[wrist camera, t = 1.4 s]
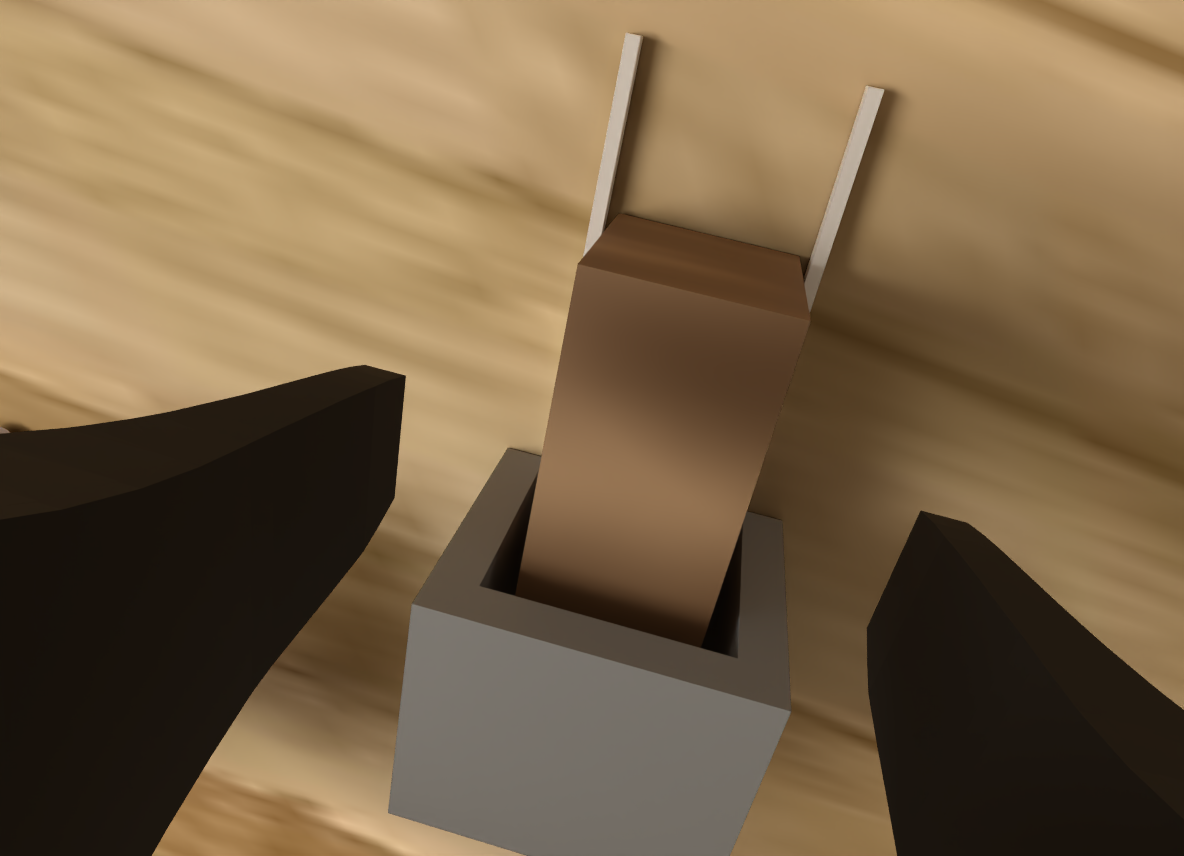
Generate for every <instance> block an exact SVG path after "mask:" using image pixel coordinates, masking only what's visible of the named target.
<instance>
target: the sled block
mask: <svg viewBox="0 0 1184 856" xmlns="http://www.w3.org/2000/svg"><path fill="white" fill-rule="evenodd" d="M810 322H811V319H810V313H809V308H808V302H807V297H806V291H805V286H804V280H803V274H802V269H801V263H800V258H799V256H796V255H792V254H788V253H784V252H780V251H775V250H771V249H767V248H763V247H759V246H754V245H750V244H746V243H742V242H738V241H733V240H729V239H725V238H721V237H717V236H713V235H708V234H704V233H700V232H696V231H692V230H687V229H683V228H679V227H675V226H671V225H667V224H662V223H658V222H654V221H650V220H646V219H641V218H637V217H633V216H629V215H625V214H620V213H619V214H618V215H617V216H616V217H615V219H614V220H613V221H612V222H611V224H610V225H609V226H608V227H607V228H606V230H605V231H604V232H603V233H602V235H601V236H600V237H599V238H598V240H597V241H596V242H595V243H594V245H593V246H592V247H591V248H590V250H589V251H588V252H587V253H586V254H585V256H584V257H583V258H582V259H581V261H580V262H579V263H578V266H577V271H576V276H575V282H574V287H573V292H572V298H571V303H570V308H569V313H568V319H567V324H566V329H565V335H564V340H563V345H562V350H561V356H560V361H559V366H558V372H557V377H556V382H555V388H554V393H553V398H552V403H551V409H550V414H549V419H548V425H547V430H546V435H545V441H544V446H543V451H542V456H541V462H540V467H539V472H538V478H537V483H536V488H535V493H534V499H533V504H532V509H531V515H530V520H529V525H528V531H527V536H526V541H525V546H524V552H523V557H522V562H521V568H520V573H519V578H518V583H517V589H516V594H515V596H517V597H520V598H524V599H527V600H531V601H535V602H538V603H542V604H545V605H549V606H552V607H556V608H560V609H563V610H567V611H570V612H574V613H577V614H581V615H585V616H588V617H592V618H595V619H599V620H602V621H606V622H609V623H613V624H617V625H620V626H624V627H627V628H631V629H634V630H638V631H642V632H645V633H649V634H652V635H656V636H659V637H663V638H667V639H670V640H674V641H677V642H681V643H684V644H688V645H692V646H695V647H699V648H701V646H702V643H703V640H704V637H705V634H706V631H707V628H708V625H709V622H710V619H711V616H712V613H713V610H714V607H715V604H716V601H717V598H718V595H719V592H720V589H721V586H722V583H723V580H724V577H725V574H726V571H727V568H728V565H729V563H730V560H731V557H732V554H733V551H734V548H735V545H736V542H737V539H738V536H739V533H740V530H741V527H742V524H743V521H744V518H745V515H746V512H747V509H748V506H749V503H750V500H751V497H752V494H753V491H754V488H755V485H756V482H757V479H758V477H759V474H760V471H761V468H762V465H763V462H764V459H765V456H766V453H767V450H768V447H769V444H770V441H771V438H772V435H773V432H774V429H775V426H776V423H777V420H778V417H779V414H780V411H781V408H782V405H783V402H784V399H785V396H786V393H787V391H788V388H789V385H790V382H791V379H792V376H793V373H794V370H795V367H796V364H797V361H798V358H799V355H800V352H801V349H802V346H803V343H804V340H805V337H806V334H807V331H808V328H809V325H810Z"/></svg>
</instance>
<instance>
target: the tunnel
mask: <svg viewBox="0 0 1184 856" xmlns="http://www.w3.org/2000/svg"><path fill="white" fill-rule="evenodd" d="M642 41H643V36H640V35H636V34H631V33H626V35H625V41H624V46H623V51H622V56H621V62H620V67H619V72H618V77H617V82H616V88H615V93H614V98H613V103H612V109H611V114H610V119H609V124H608V130H607V135H606V140H605V145H604V150H603V156H602V161H601V166H600V171H599V177H598V182H597V187H596V192H595V198H594V203H593V208H592V213H591V218H590V224H589V229H588V234H587V239H586V245H585V250H584V255H583V257H584V256H585V254H586V253H587V252H588V251H589V250H590V248H591V247H592V246H593V245H594V243H595V242H596V241H597V240H598V238H599V237H600V236H601V235H602V233H603V232H604V230H605V225H606V220H607V215H608V210H609V205H610V200H611V195H612V190H613V185H614V180H615V175H616V170H617V165H618V160H619V156H620V151H621V146H622V141H623V136H624V131H625V126H626V121H627V116H628V111H629V106H630V101H631V96H632V91H633V86H634V81H635V76H636V71H637V66H638V61H639V56H640V51H641V46H642ZM883 93H884V89H881V88H876V87H872V86H867V85H866V88H865V91H864V94H863V98H862V101H861V104H860V107H859V110H858V113H857V116H856V119H855V122H854V125H853V128H852V131H851V135H850V138H849V141H848V144H847V147H846V150H845V153H844V156H843V159H842V162H841V165H840V168H839V172H838V175H837V178H836V181H835V184H834V187H833V190H832V193H831V196H830V199H829V202H828V205H827V209H826V212H825V215H824V218H823V221H822V224H821V227H820V230H819V233H818V236H817V239H816V242H815V246H814V249H813V252H812V255H811V258H810V261H809V264H808V267H807V270H806V273H805V276H804V279H803V280H804V286H805V291H806V297H807V302H808V308H809V313H810V311H811V308H812V305H813V302H814V299H815V296H816V293H817V290H818V287H819V284H820V281H821V278H822V275H823V272H824V269H825V266H826V263H827V260H828V257H829V254H830V251H831V248H832V245H833V242H834V239H835V236H836V233H837V230H838V227H839V224H840V221H841V218H842V215H843V212H844V209H845V206H846V203H847V200H848V197H849V194H850V191H851V188H852V185H853V182H854V179H855V176H856V173H857V170H858V167H859V164H860V161H861V158H862V156H863V153H864V150H865V147H866V144H867V141H868V138H869V135H870V132H871V129H872V126H873V123H874V120H875V117H876V114H877V111H878V108H879V105H880V102H881V99H882V96H883ZM540 462H541V456H537V455H533V454H529V453H525V452H522V451H518V450H514V449H510V448H507V450H506V452H505V453H504V455H503V457H502V458H501V460H500V461H499V463H498V465H497V466H496V468H495V470H494V471H493V473H492V474H491V476H490V478H489V479H488V481H487V483H486V484H485V486H484V487H483V489H482V491H481V492H480V494H479V496H478V497H477V499H476V500H475V502H474V504H473V505H472V507H471V509H470V510H469V512H468V513H467V515H466V517H465V518H464V520H463V522H462V523H461V525H460V526H459V528H458V530H457V531H456V533H455V535H454V536H453V538H452V539H451V541H450V543H449V544H448V546H447V547H446V549H445V551H444V552H443V554H442V556H441V557H440V559H439V560H438V562H437V564H436V565H435V567H434V569H433V570H432V572H431V573H430V575H429V577H428V578H427V580H426V582H425V583H424V585H423V586H422V588H421V590H420V591H419V593H418V595H417V596H416V598H415V599H414V601H413V603H412V607H411V616H410V624H409V633H408V642H407V651H406V659H405V668H404V677H403V686H402V695H401V703H400V712H399V721H398V730H397V738H396V747H395V756H394V765H393V773H392V782H391V791H390V800H389V808H388V813H390V814H393V815H396V816H399V817H403V818H406V819H409V820H412V821H416V822H419V823H422V824H425V825H429V826H432V827H435V828H438V829H442V830H445V831H448V832H452V833H455V834H458V835H461V836H465V837H468V838H471V839H474V840H478V841H481V842H484V843H487V844H491V845H494V846H497V847H500V848H504V849H507V850H510V851H514V852H517V853H520V854H523V855H527V856H730V854H731V852H732V849H733V847H734V845H735V842H736V840H737V838H738V835H739V833H740V831H741V828H742V826H743V824H744V821H745V819H746V817H747V814H748V812H749V809H750V807H751V805H752V802H753V800H754V798H755V795H756V793H757V791H758V788H759V786H760V784H761V781H762V779H763V777H764V774H765V772H766V770H767V767H768V765H769V763H770V760H771V758H772V756H773V753H774V751H775V749H776V746H777V744H778V742H779V739H780V737H781V734H782V732H783V730H784V727H785V725H786V723H787V720H788V718H789V716H790V713H791V695H790V674H789V652H788V631H787V609H786V588H785V566H784V545H783V523H782V520H778V519H774V518H770V517H767V516H763V515H759V514H755V513H751V512H748V511H747V512H746V515H745V518H744V521H743V524H742V527H741V530H740V533H739V536H738V539H737V542H736V545H735V548H734V551H733V554H732V557H731V560H730V563H729V565H728V568H727V571H726V574H725V577H724V580H723V583H722V586H721V589H720V592H719V595H718V598H717V601H716V604H715V607H714V610H713V613H712V616H711V619H710V622H709V625H708V628H707V631H706V634H705V637H704V640H703V643H702V646H701V648H699V647H695V646H692V645H688V644H684V643H681V642H677V641H674V640H670V639H667V638H663V637H659V636H656V635H652V634H649V633H645V632H642V631H638V630H634V629H631V628H627V627H624V626H620V625H617V624H613V623H609V622H606V621H602V620H599V619H595V618H592V617H588V616H585V615H581V614H577V613H574V612H570V611H567V610H563V609H560V608H556V607H552V606H549V605H545V604H542V603H538V602H535V601H531V600H527V599H524V598H520V597H517V596H515V594H516V589H517V583H518V578H519V573H520V568H521V562H522V557H523V552H524V546H525V541H526V536H527V531H528V525H529V520H530V515H531V509H532V504H533V499H534V493H535V488H536V483H537V478H538V472H539V467H540Z"/></svg>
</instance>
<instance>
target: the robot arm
mask: <svg viewBox="0 0 1184 856" xmlns="http://www.w3.org/2000/svg"><path fill="white" fill-rule="evenodd" d="M405 379H406V376H405V375H401V374H397V373H393V372H390V371H386V370H382V369H378V368H374V367H371V366H367V365H361V366H353V367H348V368H343V369H339V370H334V371H330V372H326V373H322V374H319V375H315V376H311V377H307V378H304V379H300V380H296V381H293V382H289V383H285V384H281V385H278V386H274V387H270V388H267V389H263V390H259V391H256V392H252V393H248V394H244V395H240V396H236V397H232V398H227V399H223V400H219V401H214V402H210V403H206V404H201V405H197V406H193V407H188V408H184V409H180V410H176V411H171V412H166V413H161V414H156V415H150V416H145V417H139V418H133V419H127V420H120V421H114V422H107V423H100V424H93V425H86V426H78V427H70V428H60V429H48V430H36V431H24V432H12V433H10V432H9V431H8V430H7V429H4V428H2V427H0V856H152V854H153V852H154V851H155V849H156V847H157V845H158V844H159V842H160V840H161V838H162V837H163V835H164V833H165V831H166V830H167V828H168V826H169V825H170V823H171V821H172V820H173V818H174V816H175V815H176V813H177V811H178V810H179V808H180V807H181V805H182V803H183V802H184V800H185V798H186V797H187V795H188V793H189V792H190V790H191V788H192V787H193V785H194V784H195V782H196V780H197V779H198V777H199V775H200V774H201V772H202V770H203V769H204V767H205V765H206V764H207V762H208V761H209V759H210V757H211V756H212V754H213V752H214V751H215V749H216V748H217V746H218V745H219V743H220V742H221V740H222V738H223V737H224V735H225V734H226V732H227V731H228V729H229V728H230V726H231V724H232V723H233V721H234V720H235V718H236V717H237V715H238V714H239V712H240V710H241V709H242V707H243V706H244V704H245V703H246V701H247V699H248V698H249V696H250V695H251V693H252V692H253V691H254V689H255V688H256V686H257V685H258V684H259V682H260V681H261V680H262V678H263V677H264V676H265V674H266V673H267V672H268V670H269V669H270V667H271V666H272V665H273V664H274V662H275V661H276V660H277V659H278V657H279V656H280V655H281V654H282V652H283V651H284V650H285V649H286V647H287V646H288V645H289V644H290V643H291V641H292V640H293V639H294V638H295V636H296V635H297V634H298V633H299V631H300V630H301V629H302V628H303V626H304V625H305V624H306V623H307V622H308V620H309V619H310V618H311V617H312V615H313V614H314V613H315V612H316V610H317V609H318V608H319V607H320V605H321V604H322V603H323V602H324V601H325V599H326V598H327V597H328V596H329V594H330V593H331V592H332V591H333V589H334V588H335V587H336V586H337V584H338V583H339V582H340V581H341V579H342V578H343V577H344V575H345V574H346V573H347V572H348V570H349V569H350V568H351V567H352V565H353V564H354V563H355V562H356V560H357V559H358V558H359V556H360V555H361V554H362V552H363V551H364V550H365V548H366V546H367V545H368V543H369V541H370V540H371V538H372V536H373V535H374V533H375V531H376V530H377V528H378V526H379V525H380V523H381V521H382V519H383V517H384V516H385V514H386V512H387V510H388V509H389V507H390V505H391V503H392V501H393V500H394V497H395V486H396V476H397V465H398V454H399V444H400V433H401V422H402V411H403V401H404V390H405ZM867 668H868V692H869V699H870V706H871V712H872V718H873V723H874V729H875V735H876V741H877V747H878V752H879V758H880V763H881V769H882V774H883V780H884V785H885V791H886V796H887V802H888V807H889V813H890V818H891V824H892V829H893V835H894V840H895V846H896V851H897V856H1184V710H1183V709H1182V708H1180V707H1179V706H1178V705H1177V704H1175V703H1174V702H1173V701H1172V700H1170V699H1169V698H1168V697H1166V696H1165V695H1164V694H1163V693H1161V692H1160V691H1159V690H1158V689H1156V688H1155V687H1154V686H1153V685H1151V684H1150V683H1149V682H1148V681H1147V680H1145V679H1144V678H1143V677H1142V676H1141V675H1139V674H1138V673H1137V672H1136V671H1135V670H1133V669H1132V668H1131V667H1130V666H1129V665H1127V664H1126V663H1125V662H1124V661H1123V660H1122V659H1120V658H1119V657H1118V656H1117V655H1116V654H1114V653H1113V652H1112V651H1111V650H1110V649H1108V648H1107V647H1106V646H1105V645H1104V644H1103V643H1102V642H1100V641H1099V640H1098V639H1097V638H1096V637H1095V636H1094V635H1093V634H1091V633H1090V632H1089V631H1088V630H1087V629H1086V628H1085V627H1084V626H1082V625H1081V624H1080V623H1079V622H1078V621H1077V620H1076V619H1075V618H1074V617H1073V616H1071V615H1070V614H1069V613H1068V612H1067V611H1066V610H1065V609H1064V608H1063V607H1062V606H1061V605H1059V604H1058V603H1057V602H1056V601H1055V600H1054V599H1053V598H1052V597H1051V596H1050V595H1049V594H1048V593H1047V592H1045V591H1044V590H1043V589H1042V588H1041V587H1040V586H1039V585H1038V584H1037V583H1036V582H1035V581H1034V580H1033V579H1032V578H1030V577H1029V576H1028V575H1027V574H1026V573H1025V572H1024V571H1023V570H1022V569H1021V568H1020V567H1019V566H1018V565H1017V564H1015V563H1014V562H1013V561H1012V560H1011V559H1010V558H1009V557H1008V556H1007V555H1006V554H1005V553H1004V552H1002V551H1001V550H1000V549H999V548H998V547H997V546H996V545H995V544H993V543H992V542H991V541H990V540H989V539H988V538H986V537H985V536H984V535H983V534H982V533H980V532H979V531H978V530H977V529H975V528H974V527H972V526H971V525H970V524H968V523H966V522H962V521H958V520H954V519H951V518H947V517H943V516H939V515H935V514H932V513H928V512H924V511H920V513H919V515H918V518H917V520H916V522H915V524H914V526H913V529H912V531H911V533H910V535H909V537H908V540H907V542H906V544H905V546H904V548H903V550H902V553H901V555H900V557H899V559H898V561H897V564H896V566H895V568H894V570H893V572H892V575H891V577H890V579H889V581H888V583H887V585H886V588H885V590H884V592H883V594H882V596H881V599H880V601H879V603H878V605H877V607H876V609H875V612H874V614H873V616H872V618H871V620H870V623H869V625H868V627H867Z"/></svg>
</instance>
